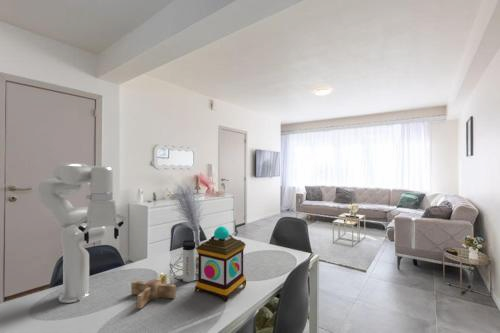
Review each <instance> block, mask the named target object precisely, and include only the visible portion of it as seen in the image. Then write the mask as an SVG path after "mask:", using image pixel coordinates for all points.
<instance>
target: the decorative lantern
mask: <svg viewBox="0 0 500 333" xmlns="http://www.w3.org/2000/svg"><path fill="white" fill-rule="evenodd" d="M245 247H246V243H245V242H244V241H242V240H241V239H236V238H234V237H233V235H231V234H230V232H229V229H228V228H227V227H225V226H223V225H220V226H218V227H217V228H216V229H215V230H214V233H213V236H211V237H210V238H209V239H208V240H206V241H204V242H201V243H200V245H198V246H197V247H196V253H197V255H198V256H197V257H198V260H197V261H198V264H197V265H198V266H197V267H198V268H197V269H198V273H197V274H198V280H197V281H196V284H195V286H194V291H195V292H199V291H200V290H202V291H204V292H208V293H212V294H214V295H219V296H221V297H223V300H224V302H228V301H229V300H228V299H229V296H230V295H231V294H232V293H234V292H235V291H236V290H237V289H238V288H239V287H240V286H242V287H246V286H247V279H246V277H245V274H244V249H245Z"/></svg>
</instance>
